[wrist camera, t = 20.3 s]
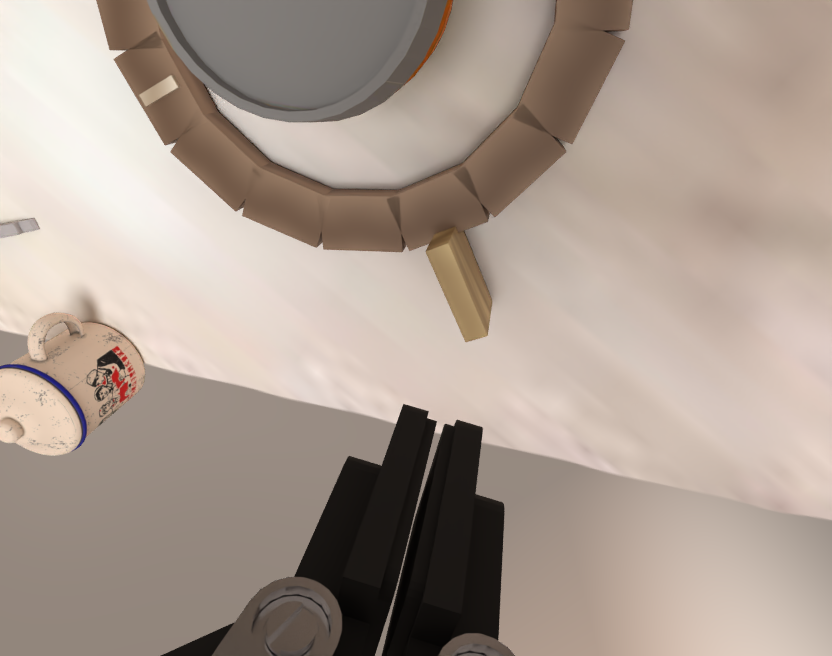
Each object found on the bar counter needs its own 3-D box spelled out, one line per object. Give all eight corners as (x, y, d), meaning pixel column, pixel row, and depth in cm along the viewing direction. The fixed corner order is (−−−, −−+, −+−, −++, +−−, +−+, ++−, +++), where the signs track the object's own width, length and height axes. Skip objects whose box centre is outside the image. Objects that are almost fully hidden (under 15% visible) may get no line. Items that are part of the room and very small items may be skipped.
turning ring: (519, -675, 20) (516, -907, 16) (713, 230, 35) (744, 260, 30) (1, -167, 32) (-96, -208, 27) (308, 359, 46) (281, 396, 41)
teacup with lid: (154, 406, 53) (66, 489, 43) (73, 386, 54) (-32, 464, 44) (139, 301, 47) (32, 369, 37) (48, 282, 48) (-80, 343, 38)
